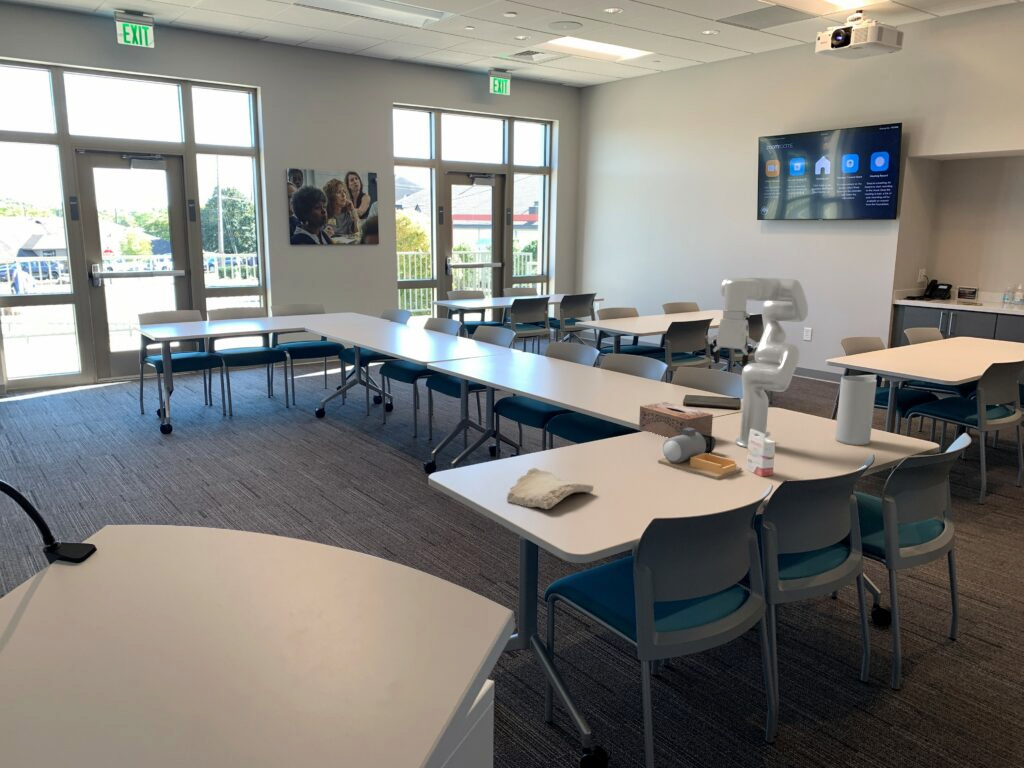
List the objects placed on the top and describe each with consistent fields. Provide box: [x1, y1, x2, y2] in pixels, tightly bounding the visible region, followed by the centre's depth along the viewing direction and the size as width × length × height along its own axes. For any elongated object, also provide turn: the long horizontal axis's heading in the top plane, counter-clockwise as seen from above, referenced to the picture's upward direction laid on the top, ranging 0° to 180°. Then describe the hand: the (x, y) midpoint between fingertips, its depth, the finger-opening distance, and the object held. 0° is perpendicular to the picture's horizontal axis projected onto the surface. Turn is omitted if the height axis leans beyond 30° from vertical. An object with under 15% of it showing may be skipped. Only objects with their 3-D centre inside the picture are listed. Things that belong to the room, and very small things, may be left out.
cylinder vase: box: [834, 375, 878, 446], centre depth 294 cm, size 12×12×25 cm
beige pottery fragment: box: [506, 467, 594, 510], centre depth 231 cm, size 24×8×20 cm
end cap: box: [701, 434, 717, 454], centre depth 280 cm, size 10×7×7 cm
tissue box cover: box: [638, 401, 714, 439], centre depth 304 cm, size 26×14×10 cm, turn 35°
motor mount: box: [657, 427, 743, 480], centre depth 261 cm, size 15×24×12 cm, turn 42°
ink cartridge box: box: [745, 429, 776, 477], centre depth 256 cm, size 9×5×15 cm, turn 20°
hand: (730, 364), depth 264 cm, fingers open, 9 cm apart
